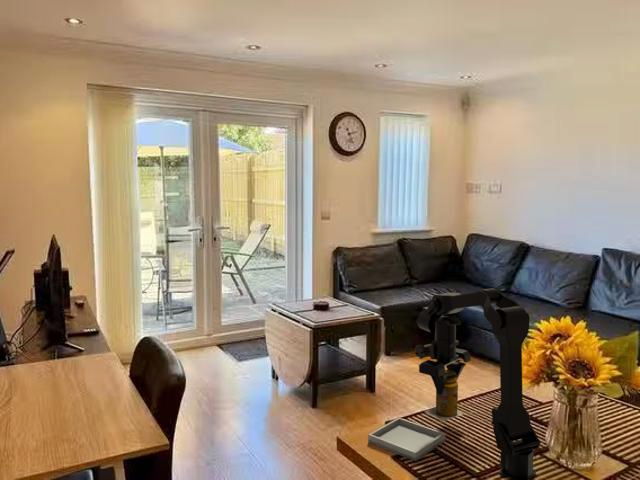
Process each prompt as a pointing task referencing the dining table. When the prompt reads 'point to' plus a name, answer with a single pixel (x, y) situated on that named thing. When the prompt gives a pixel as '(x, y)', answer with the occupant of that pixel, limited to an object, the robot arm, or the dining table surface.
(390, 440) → the tray
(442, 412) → the condiment
